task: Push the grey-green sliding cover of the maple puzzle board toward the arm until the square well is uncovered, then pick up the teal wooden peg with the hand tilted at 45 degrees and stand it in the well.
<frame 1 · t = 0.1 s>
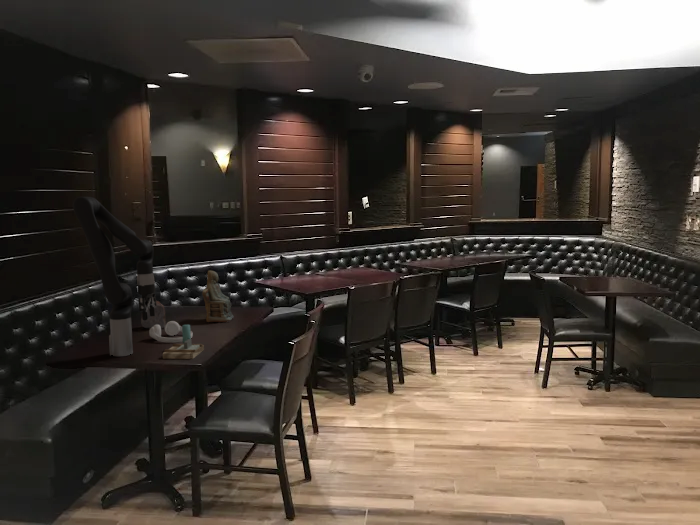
hand: (148, 317, 271), 17 cm above the table, tool pointing down, fingers open, 8 cm apart
sculpture: (219, 320, 348), on the table
rock: (156, 328, 330), on the table
board: (184, 354, 273), on the table
peg: (187, 347, 284), on the table
headphones: (173, 339, 303), on the table
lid: (187, 344, 272), point 4 cm above the table, slide at 0.0 cm
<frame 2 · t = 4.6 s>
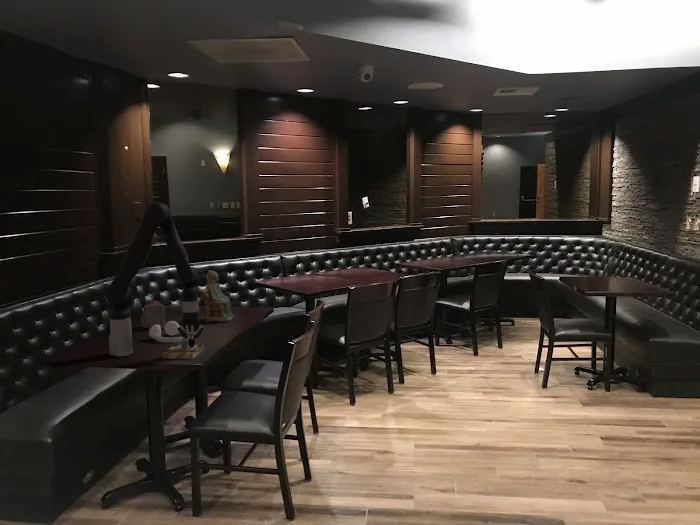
hand: (191, 346, 272), 3 cm above the table, tool pointing down, fingers closed
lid: (185, 344, 272), point 4 cm above the table, slide at 1.2 cm, touching gripper
everything else where it was.
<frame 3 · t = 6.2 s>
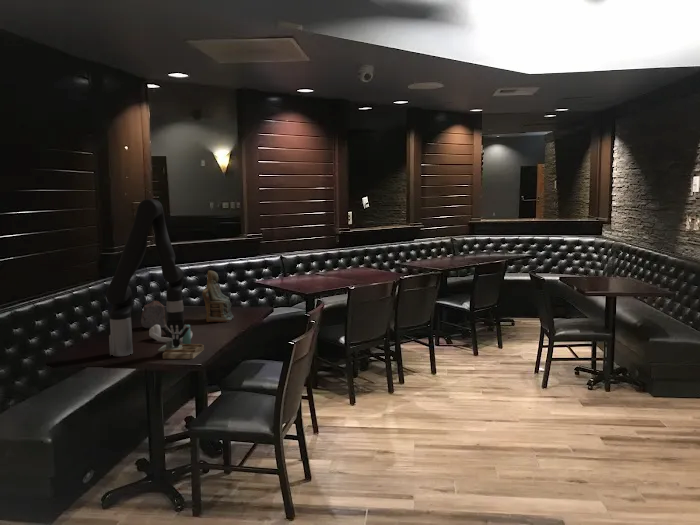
hand: (176, 346, 272), 3 cm above the table, tool pointing down, fingers closed
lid: (170, 344, 273), point 4 cm above the table, slide at 8.4 cm, touching gripper
everything else where it was.
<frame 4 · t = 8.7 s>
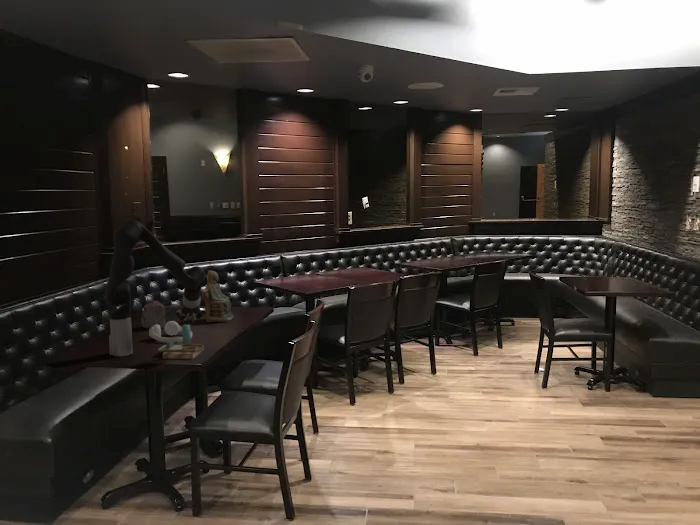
hand: (189, 322, 272), 15 cm above the table, tool tilted 45°, fingers open, 3 cm apart
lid: (170, 344, 273), point 4 cm above the table, slide at 8.4 cm
everything else where it was.
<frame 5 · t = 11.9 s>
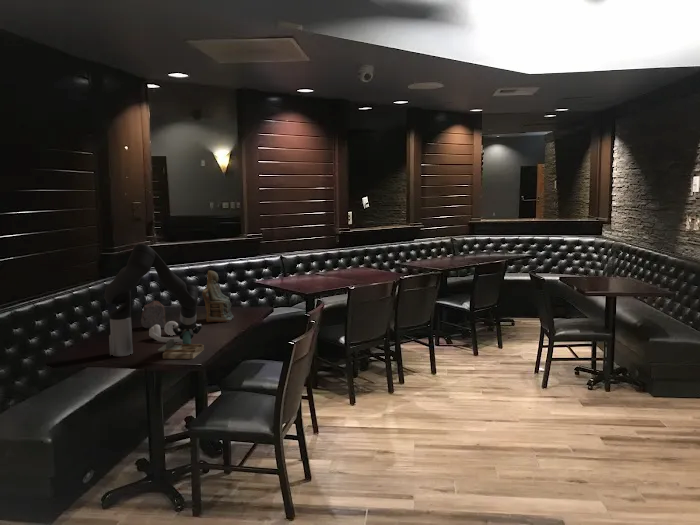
hand: (186, 337, 286), 5 cm above the table, tool tilted 45°, fingers closed on peg, 3 cm apart
peg: (187, 347, 284), on the table, touching gripper
everything else where it was.
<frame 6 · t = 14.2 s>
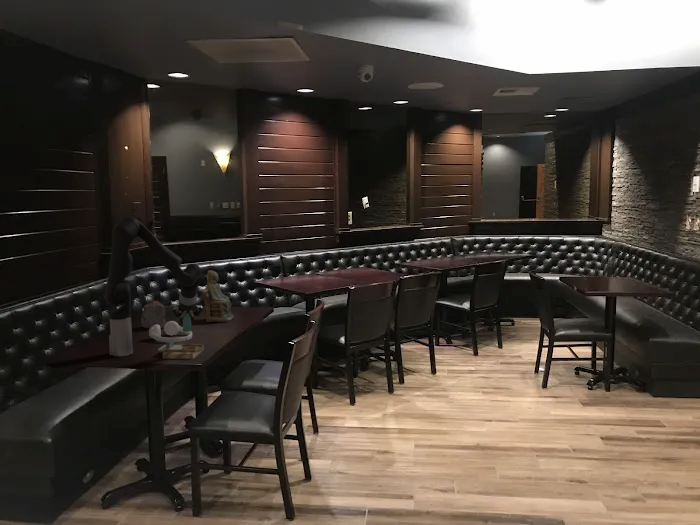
hand: (186, 320, 273), 16 cm above the table, tool tilted 45°, fingers closed on peg, 3 cm apart
peg: (187, 330, 271), point 11 cm above the table, touching gripper
everything else where it was.
when the fingers open (6 cm above the table, at t = 16.3 s): peg drops 1 cm, resting in board.
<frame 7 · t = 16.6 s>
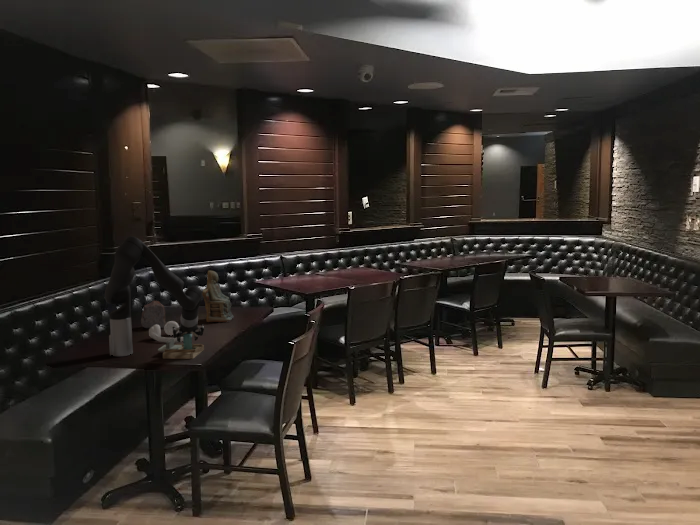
hand: (187, 339, 273), 6 cm above the table, tool tilted 45°, fingers open, 6 cm apart
peg: (188, 354, 272), resting in board
everything else where it was.
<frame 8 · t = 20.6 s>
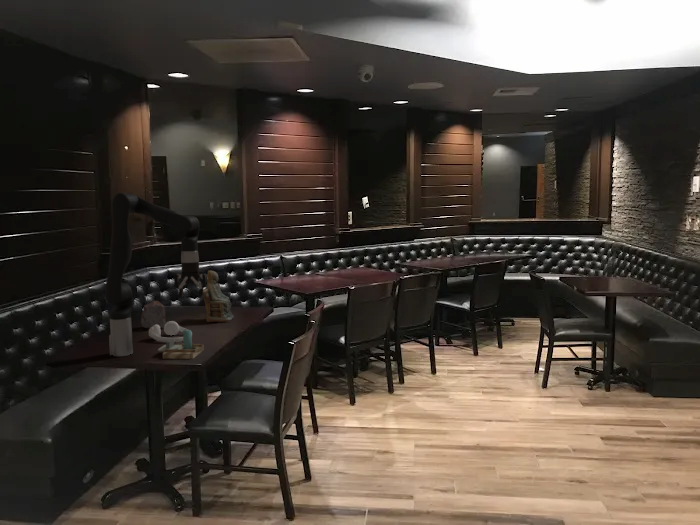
hand: (191, 297, 262), 28 cm above the table, tool pointing down, fingers open, 8 cm apart
nothing on the table moved.
at the end: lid slide at 8.4 cm; peg 0.1 cm from the target spot on the board, point 0.0 cm above the board's base; peg tilted 0° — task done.
